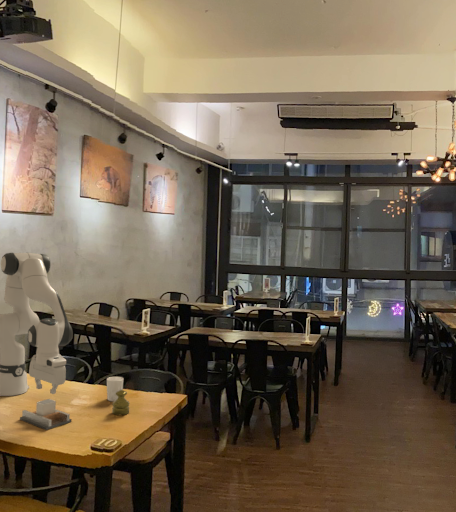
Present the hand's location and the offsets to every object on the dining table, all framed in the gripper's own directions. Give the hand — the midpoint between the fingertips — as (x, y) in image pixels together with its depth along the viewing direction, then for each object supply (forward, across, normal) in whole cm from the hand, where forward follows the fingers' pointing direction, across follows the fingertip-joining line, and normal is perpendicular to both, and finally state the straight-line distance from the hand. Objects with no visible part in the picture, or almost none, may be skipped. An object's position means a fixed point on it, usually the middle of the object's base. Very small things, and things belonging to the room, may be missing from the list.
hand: (45, 391), depth 202 cm
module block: (+11, 0, 0) cm, 11 cm away
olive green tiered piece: (+12, +17, +27) cm, 34 cm away
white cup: (+13, 0, +38) cm, 40 cm away
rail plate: (+12, +1, 0) cm, 12 cm away
